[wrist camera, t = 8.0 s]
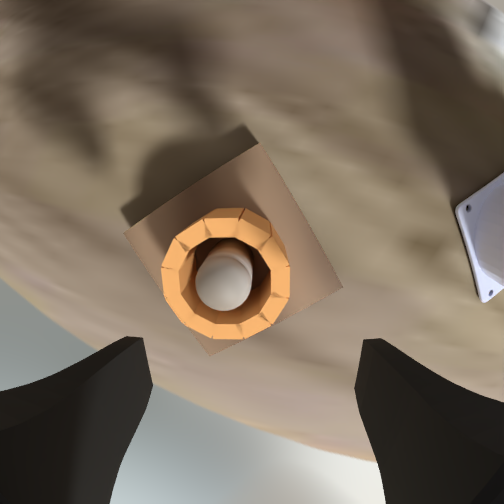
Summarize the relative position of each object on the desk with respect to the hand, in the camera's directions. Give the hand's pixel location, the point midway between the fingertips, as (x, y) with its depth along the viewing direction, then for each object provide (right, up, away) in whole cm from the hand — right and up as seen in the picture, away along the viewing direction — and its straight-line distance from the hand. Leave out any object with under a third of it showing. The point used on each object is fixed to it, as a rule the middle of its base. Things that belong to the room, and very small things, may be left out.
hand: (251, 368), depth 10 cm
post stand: (-1, +4, +9) cm, 9 cm away
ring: (-1, +3, +7) cm, 8 cm away
